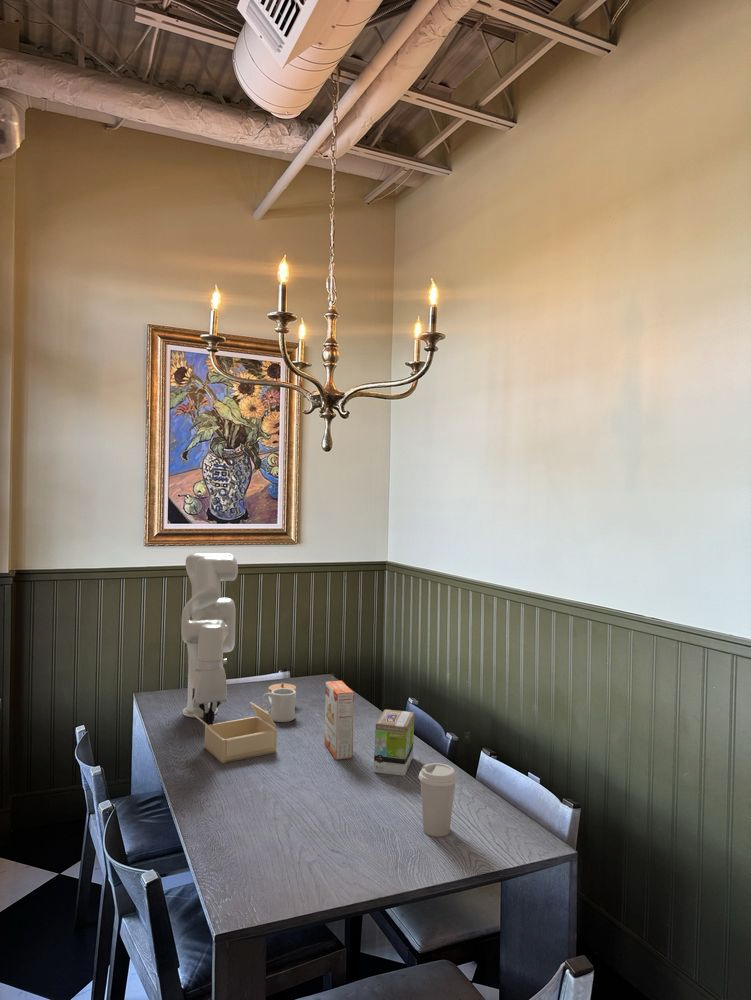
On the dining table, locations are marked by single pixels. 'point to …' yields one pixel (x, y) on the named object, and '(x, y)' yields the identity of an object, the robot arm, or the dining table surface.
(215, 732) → the flap near
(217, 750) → the carton
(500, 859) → the dining table surface
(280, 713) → the mug
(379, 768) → the tea box
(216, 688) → the robot arm
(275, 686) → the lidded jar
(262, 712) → the flap far
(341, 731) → the cracker box
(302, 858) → the dining table surface
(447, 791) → the coffee cup
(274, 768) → the dining table surface
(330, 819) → the dining table surface
